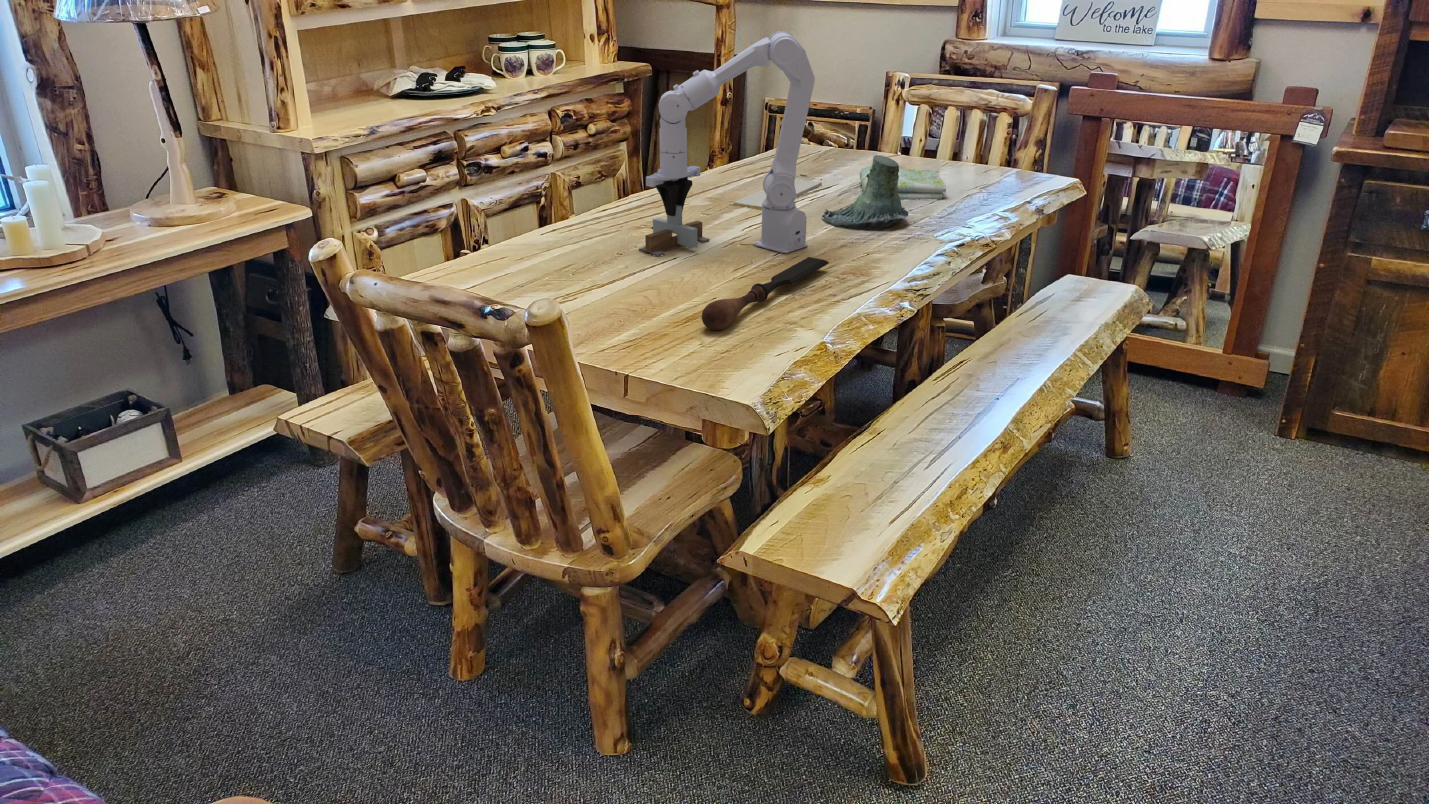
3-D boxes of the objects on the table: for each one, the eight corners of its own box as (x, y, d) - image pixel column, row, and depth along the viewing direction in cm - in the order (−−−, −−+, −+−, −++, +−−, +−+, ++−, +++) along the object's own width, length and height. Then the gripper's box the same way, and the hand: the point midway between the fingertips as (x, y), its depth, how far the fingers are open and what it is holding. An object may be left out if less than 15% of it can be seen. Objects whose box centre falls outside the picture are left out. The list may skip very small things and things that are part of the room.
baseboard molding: (724, 206, 257) (766, 213, 251) (724, 195, 256) (766, 202, 250) (782, 182, 281) (821, 187, 275) (782, 171, 280) (822, 177, 274)
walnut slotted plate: (709, 241, 227) (709, 223, 225) (658, 257, 216) (657, 238, 215) (690, 236, 231) (690, 218, 229) (638, 251, 220) (638, 233, 218)
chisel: (695, 331, 178) (695, 304, 176) (808, 267, 211) (809, 244, 208) (719, 337, 175) (720, 310, 173) (829, 271, 208) (831, 247, 206)
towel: (947, 201, 261) (949, 182, 259) (863, 200, 262) (865, 180, 260) (936, 185, 278) (938, 166, 275) (858, 184, 278) (859, 165, 276)
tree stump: (840, 208, 256) (862, 138, 247) (911, 238, 248) (936, 168, 240) (807, 220, 241) (830, 148, 232) (882, 254, 234) (908, 180, 225)
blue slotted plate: (697, 246, 220) (697, 209, 216) (692, 247, 219) (692, 211, 215) (658, 235, 227) (657, 199, 224) (653, 236, 226) (652, 201, 223)
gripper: (683, 143, 222) (684, 204, 228) (635, 153, 212) (636, 217, 218) (707, 147, 218) (707, 210, 224) (658, 158, 208) (660, 223, 214)
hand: (674, 214), depth 221 cm, fingers closed on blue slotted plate, 2 cm apart
